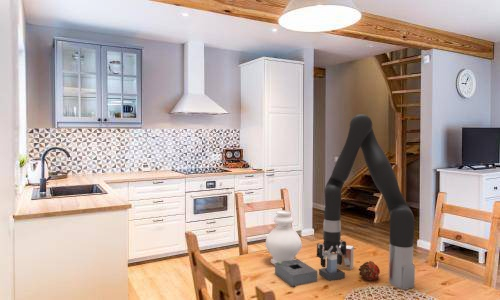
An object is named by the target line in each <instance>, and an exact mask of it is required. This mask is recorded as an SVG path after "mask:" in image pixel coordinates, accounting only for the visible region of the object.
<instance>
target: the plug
mask: <svg viewBox="0 0 500 300" xmlns="http://www.w3.org/2000/svg"><path fill="white" fill-rule="evenodd" d="M326 268H327V272H329V273H335V272H337V254H335V253H334V252H332V253H329V255H327V257H326Z"/></svg>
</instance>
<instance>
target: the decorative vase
mask: <svg viewBox="0 0 500 300" xmlns="http://www.w3.org/2000/svg"><path fill="white" fill-rule="evenodd" d="M275 214H276V216H275V217H274V219H273V221H274V223H275V224H276V226H275V227H274V228H273V229H272V230H270V232H269V234H268V235H267V237H266V238H265V248H266V250H267V252H268V253H269V254H270V256H271V257H272V258H271V259H270V263H271V264H272V265H274V266H275V263H277V262H283V261H289V260H295V259H296V256H297V255H298V253H299V252H300V251H301V249H302V243H303V242H302V240H301V237H300V235H299V234H298V232H297V231H296V230H295V229H294V228H293V227H292V226H291V225H292V224H293V223H294V218H293V217H292V216H291V215H292V211H290V210H287V209H285V210H284V209H283V210H282V209H280V210H276V212H275Z"/></svg>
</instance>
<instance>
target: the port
mask: <svg viewBox="0 0 500 300" xmlns="http://www.w3.org/2000/svg"><path fill="white" fill-rule="evenodd" d="M294 259H295V260H289V261H283V262H277V263H275V265H274V274H275V275H276V276H277V277H278V278H280V279H281V280H282V281H284V282H285V283H287V285H289V286H291V287H292V288H296V287H297V286H301V285H306V284H311V283H316V282H318V270H317V269H315V268H313V267H311V266H310V265H308V264H307V263H305V262H303V261H302V260H301V259H298V258H297V259H296V258H294Z"/></svg>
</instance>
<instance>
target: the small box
mask: <svg viewBox="0 0 500 300" xmlns="http://www.w3.org/2000/svg"><path fill="white" fill-rule="evenodd" d="M354 248H355V247H354V245H348V244H346V254H344V255H343V256H342V263H341V265H339V264H337V268H338V269H339V270H341V269H342V270H347V271H352V270H353V267H354V250H355V249H354ZM339 249H340V250H341V245H340V246H339ZM333 253H335V254H337V253H336V252H333ZM337 255H338V254H337Z"/></svg>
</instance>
